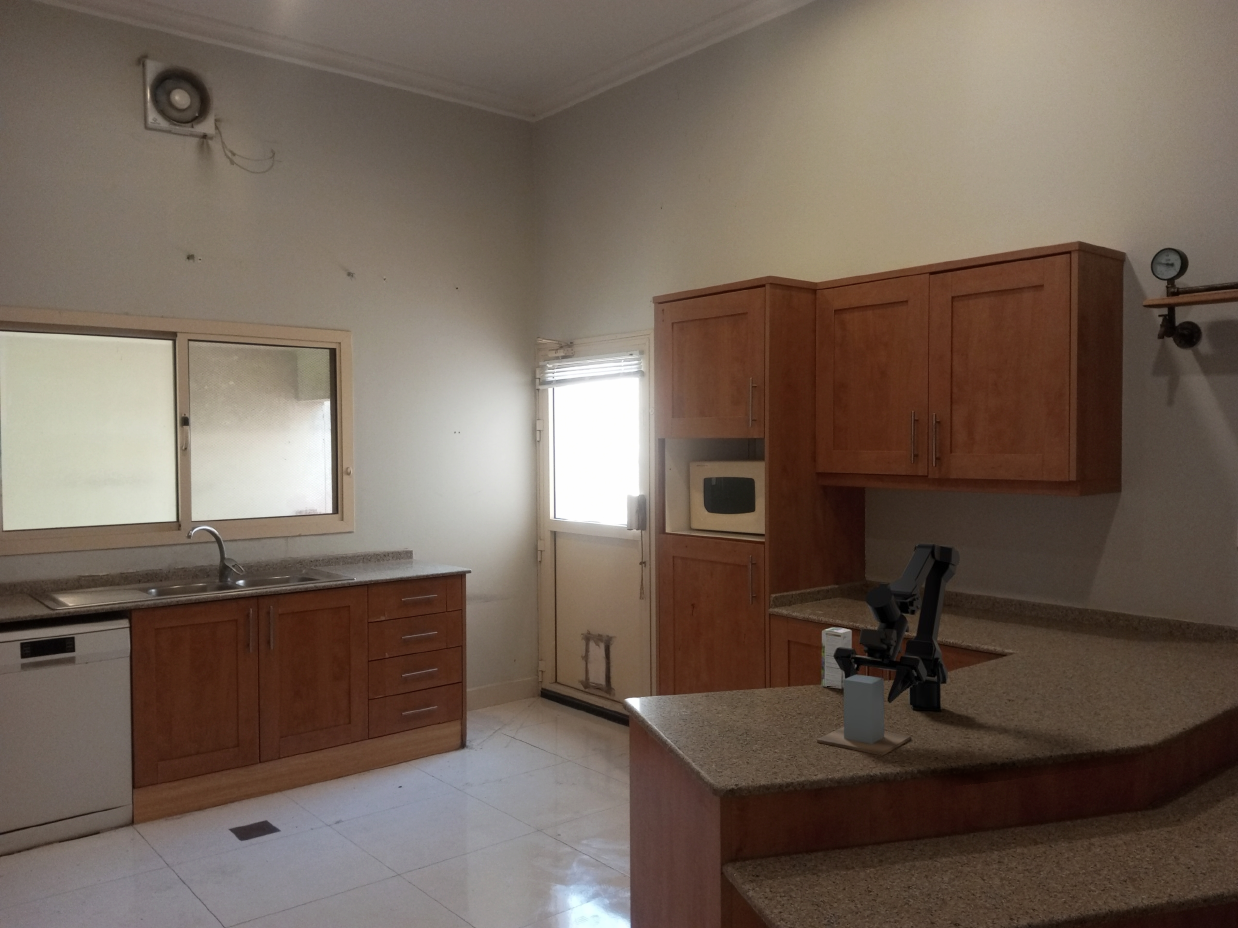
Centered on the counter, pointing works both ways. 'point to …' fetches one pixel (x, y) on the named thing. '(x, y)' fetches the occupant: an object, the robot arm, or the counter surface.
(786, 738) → the counter surface
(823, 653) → the syrup box
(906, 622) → the robot arm
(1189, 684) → the counter surface
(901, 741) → the post base
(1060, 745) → the counter surface
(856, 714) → the tall slate pillar
